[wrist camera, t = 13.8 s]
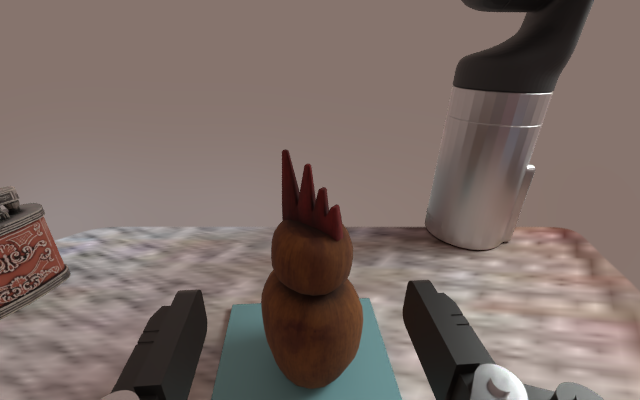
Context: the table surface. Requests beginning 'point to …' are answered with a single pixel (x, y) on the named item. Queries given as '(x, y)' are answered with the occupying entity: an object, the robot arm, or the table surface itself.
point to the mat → (272, 385)
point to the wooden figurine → (310, 287)
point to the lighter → (26, 254)
